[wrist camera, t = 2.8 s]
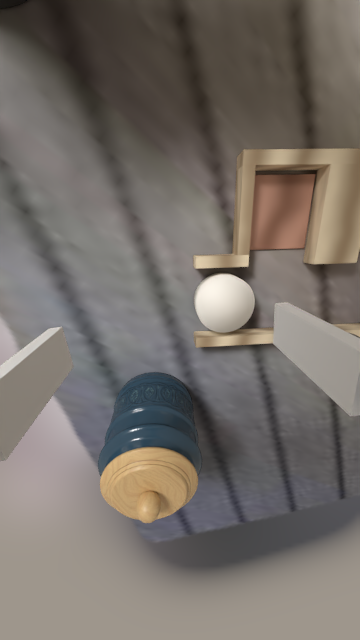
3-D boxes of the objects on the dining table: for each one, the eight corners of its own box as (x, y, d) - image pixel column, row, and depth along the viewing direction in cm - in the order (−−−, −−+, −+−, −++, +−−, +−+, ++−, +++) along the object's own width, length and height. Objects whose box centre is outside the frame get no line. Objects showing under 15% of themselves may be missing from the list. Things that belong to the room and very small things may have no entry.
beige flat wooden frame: (194, 340, 36) (197, 352, 32) (192, 157, 28) (197, 144, 24) (427, 327, 38) (456, 337, 34) (492, 154, 30) (540, 142, 26)
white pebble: (193, 325, 35) (196, 334, 32) (193, 273, 33) (196, 277, 29) (244, 322, 36) (252, 331, 32) (247, 271, 33) (257, 274, 30)
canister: (108, 376, 37) (64, 486, 21) (187, 364, 37) (205, 465, 21) (125, 435, 42) (99, 566, 25) (194, 425, 42) (215, 547, 25)
